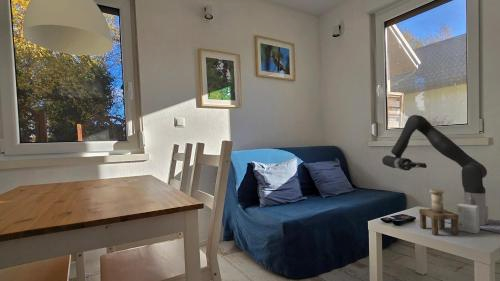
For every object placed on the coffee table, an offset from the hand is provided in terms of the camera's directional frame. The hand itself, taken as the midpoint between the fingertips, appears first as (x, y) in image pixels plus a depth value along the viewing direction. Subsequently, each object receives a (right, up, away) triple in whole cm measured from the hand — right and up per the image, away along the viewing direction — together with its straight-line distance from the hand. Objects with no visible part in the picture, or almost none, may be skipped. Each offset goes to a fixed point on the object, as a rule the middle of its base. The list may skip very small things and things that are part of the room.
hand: (418, 166), depth 154 cm
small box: (+15, -32, -17) cm, 39 cm away
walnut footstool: (0, -32, -16) cm, 36 cm away
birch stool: (0, -22, -16) cm, 27 cm away
